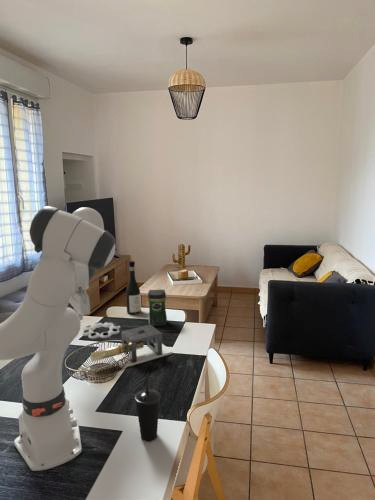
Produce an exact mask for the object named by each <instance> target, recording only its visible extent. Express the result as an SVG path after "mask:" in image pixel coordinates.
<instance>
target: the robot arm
mask: <svg viewBox="0 0 375 500" xmlns="http://www.w3.org/2000/svg"><path fill="white" fill-rule="evenodd" d="M30 222H31V223H30V228H29V237H30V241H31V242H32V244H33V246H34V252H36V253H38V254H39V253H41V252H42V253H41V257H40V259H39V260H38V262H37V264H36V265H35V267H34V269H33V271H32V273H31V276H30V278H29V280H28V284H27V288H26V292H25V294H24V295H25V296H24V298H23V301H22V302H21V304H20V305H19V306H18V307H17V309H16V310H15V311H14V312H13V313H12V314H11V315H10V316H9V317H7V318H6V319H5V320H4V321H2V322H0V361H2V362H3V361H8V360H9V361H11V360H16V359H22V358H25V357H27V356H30V355H33V354H34V356H33V357H32V358H31V359H30V360H28V362H27V363H26V364H25V366H23V369H22V372H21V375H20V377H21V386H22V396H21V398H22V399H21V404H22V408H23V409H22V411H21V412H20V414H19V415H18V427H19V435H18V436H17V437H16V438H15V439H14V441H13V445H14V447H15V448H16V449H17V451H18V452H19V454H20V455H21V457H22V458H23V460H24V462H25V463H26V465H27V466H28V467H29V469H30V470H31V471H33V472H34V471H35V472H37V471H40V472H41V471H44V470H45V471H46V470H49V469H53V468H55V467H58V466H60V465H63V464H65V463H67V462H70V461H71V460H73V459H75V458H76V457H77V456H79V455H80V454H81V452H82V451H83V448H82V441H81V434H80V427H79V426H80V425H79V420H78V419H77V418H74V417H73V416H71V414H74V409H73V408H70V400H69V399H67V398H66V391H65V388H64V385H63V376H62V373H63V371H62V368H63V361H64V357H65V356H66V353H67V351H68V348H69V347H70V346H71V343H72V342H73V341H74V340H75V339H76V338H77V336H79V333H80V330H81V324H82V323H81V321H82V320H84V316H86V315H90V313H91V305H90V304H91V303H90V297H89V294H88V293H87V290H88V289H89V288H90V285H89V283H90V281H91V280H92V278H94V276H95V275H96V274H95V270H97V271H98V270H99V271H100V270H101V269H104V268H105V267H106V266H107V265H108V264H110V262H111V261H112V260H113V258H114V256H115V254H116V243H117V242H116V239H115V237H114V236H113V235H112V234H111V232H109V231H108V230H105V226H104V224H105V223H104V220H103V217H102V215H101V213H100V212H99V211H98V210H96V209H94V208H91V207H87V206H86V207H79V208H78V209H76V210H74V211H73V212H72V213H71V212H67V211H64V210H61V209H60V208H59V207H54V206H50V205H46V206H44V207H42V208H41V209H39V210H38V211H37V212H36V214H35V215H34V216H33V217H32V219H31V221H30ZM69 304H70V306H72V307H73V308H71V307H69Z"/></svg>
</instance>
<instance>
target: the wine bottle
mask: <svg viewBox="0 0 375 500" xmlns="http://www.w3.org/2000/svg"><path fill="white" fill-rule="evenodd" d="M128 264H129V280H128V284H127V286H126V292H125V300H126V301H125V302H126V313H128V314H129V315H137V314H139V313H141V312H142V305H141V304H142V302H141V300H142V299H141V298H142V297H141V291H140V290H141V289H140V287H139V285H138V282H137V281H136V269H135V268H136V267H135V261H134V260H129V261H128Z"/></svg>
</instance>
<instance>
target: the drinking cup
mask: <svg viewBox="0 0 375 500" xmlns="http://www.w3.org/2000/svg"><path fill="white" fill-rule="evenodd" d="M160 399H161V393H160V391H158V390H156V389H152V388H149V376H148V375H146V376H145V389H141V390H138V391H137V392H136V394H134V401H135V404H136V411H137V417H138V418H137V419H138V425H139V433H140V438H141V440H142V441H144V442H149V443H150V442H153V441H154V440H155V441H156V439H157V437H158V425H159V409H160Z"/></svg>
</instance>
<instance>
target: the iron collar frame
mask: <svg viewBox="0 0 375 500" xmlns="http://www.w3.org/2000/svg"><path fill="white" fill-rule="evenodd" d="M162 334H163V333H162V332H161V331H160V330H159V329H157V328H156V327H155V326H152V325H149V324H146V325H143V326H142V325H141V326H138V327H134V328H131V329H127V330H125V329H124V330H122V331H121V345H123V344H127V343H128V344H129V354H130V361H131V362H132V363H135V362H137V354H136V342H138V341H145V340H146V346H148V347H149V348H150V349H151V350H152V351H153V352H154V353H156V354H157V355H158V356H159V355H162V344H163V338H162V337H163V336H162ZM124 354H125V355H127V354H128V352H127V353H124Z"/></svg>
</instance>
